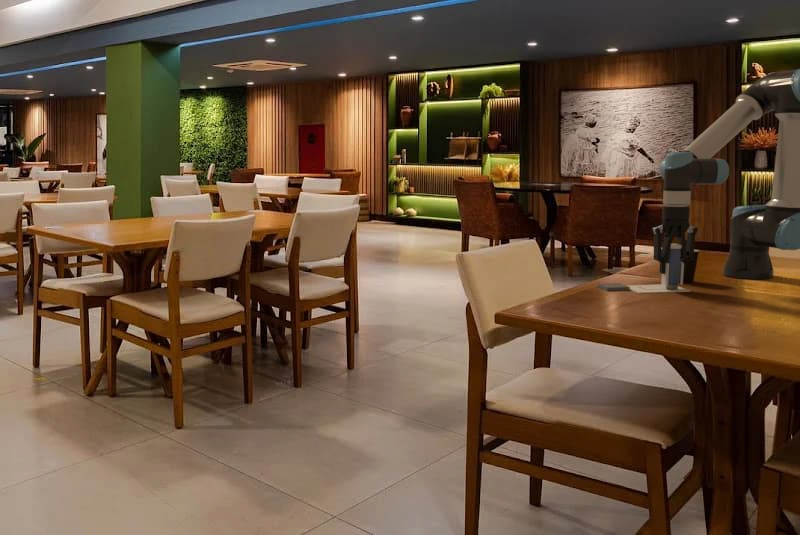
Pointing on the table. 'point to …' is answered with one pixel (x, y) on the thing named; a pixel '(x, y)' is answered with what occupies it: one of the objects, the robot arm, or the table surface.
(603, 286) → the coaster
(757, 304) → the table surface
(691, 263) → the coffee mug
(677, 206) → the robot arm
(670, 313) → the table surface
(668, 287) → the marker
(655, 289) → the paper
